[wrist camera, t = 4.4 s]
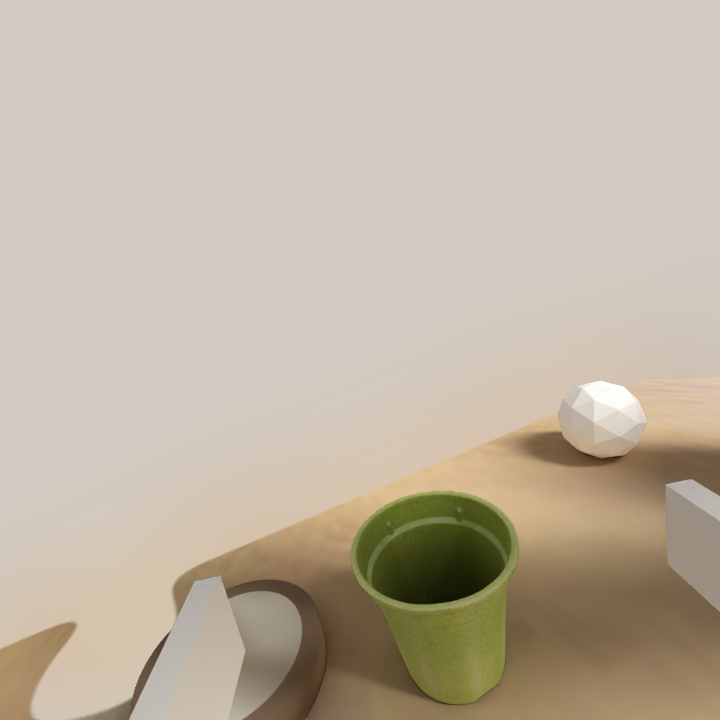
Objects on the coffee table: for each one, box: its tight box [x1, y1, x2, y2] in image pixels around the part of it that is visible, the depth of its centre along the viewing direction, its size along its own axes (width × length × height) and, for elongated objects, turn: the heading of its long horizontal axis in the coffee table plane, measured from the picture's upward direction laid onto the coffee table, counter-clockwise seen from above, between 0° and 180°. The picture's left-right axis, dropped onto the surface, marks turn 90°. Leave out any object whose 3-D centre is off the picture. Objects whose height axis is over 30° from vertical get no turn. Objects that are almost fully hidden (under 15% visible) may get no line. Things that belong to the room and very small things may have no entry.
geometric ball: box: [558, 381, 647, 458], centre depth 42 cm, size 8×8×8 cm
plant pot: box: [351, 491, 519, 705], centre depth 24 cm, size 9×9×9 cm
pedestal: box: [131, 580, 327, 720], centre depth 27 cm, size 12×12×2 cm
